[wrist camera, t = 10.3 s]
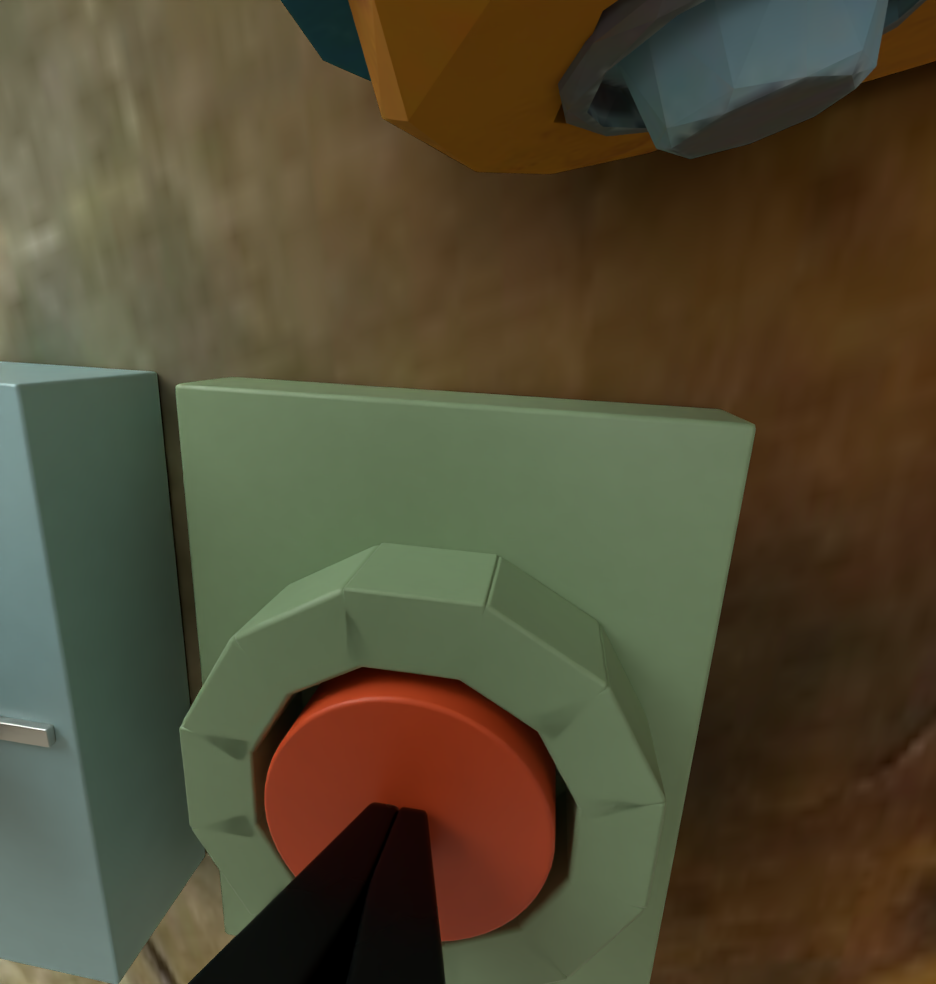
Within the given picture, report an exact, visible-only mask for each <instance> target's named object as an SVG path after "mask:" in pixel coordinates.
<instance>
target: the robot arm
mask: <svg viewBox="0 0 936 984" xmlns="http://www.w3.org/2000/svg"><path fill="white" fill-rule="evenodd" d="M188 984H446V981H445V972H444V962H443V953H442V944H441V935H440V925H439V916H438V907H437V898H436V888H435V879H434V870H433V861H432V851H431V842H430V833H429V824H428V816H427V813H426V811H424V810H420V809H414V808H408V807H402V808H400V809H398V807H397V806H395V805H390V804H384V803H378V802H373V803H371V804H369V805H368V806H367V807H366V808H365V809H364V810H363V811H362V812H361V813H360V814H359V815H358V816H357V817H356V818H355V819H354V820H353V821H352V822H351V823H350V824H349V825H348V826H347V827H346V828H345V829H344V830H343V831H342V832H341V833H340V834H339V835H338V836H337V837H336V838H335V839H334V840H333V841H332V842H331V843H330V844H329V845H328V846H327V847H326V848H325V849H324V850H323V851H321V852H320V853H319V854H318V855H317V856H316V857H315V858H314V859H313V860H312V861H311V862H310V863H309V864H308V865H307V866H306V867H305V868H304V869H303V870H302V871H301V872H300V873H299V874H298V875H297V876H296V877H295V878H294V879H293V880H292V881H291V882H290V883H289V884H288V885H287V886H286V887H285V888H284V889H283V890H282V891H281V892H280V893H279V894H278V895H277V896H276V897H275V898H274V899H273V900H272V901H271V902H270V903H269V904H268V905H267V906H266V907H265V908H264V909H263V910H262V911H261V912H260V913H259V914H258V915H257V916H256V917H255V918H254V919H253V920H252V921H251V922H250V923H249V924H248V925H247V926H246V927H245V928H244V929H243V930H242V931H241V932H240V933H239V934H238V935H236V936H235V937H234V938H233V939H232V940H231V941H230V942H229V943H228V944H227V945H226V946H225V947H224V948H223V949H222V950H221V951H220V952H219V953H218V954H217V955H216V956H215V957H214V958H213V959H212V960H211V961H210V962H209V963H208V964H207V965H206V966H205V967H204V968H203V969H202V970H201V971H200V972H199V973H198V974H197V975H196V976H195V977H194V978H193V979H192V980H191V981H190V982H189V983H188Z"/></svg>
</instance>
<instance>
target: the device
mask: <svg viewBox="0 0 936 984" xmlns="http://www.w3.org/2000/svg"><path fill="white" fill-rule="evenodd" d="M281 1H282V3H283V4H284V6H285V7H286V8H287V10H288V11H289V13H290V14H291V15H292V17H293V18H294V20H295V21H296V23H297V24H298V25H299V27H300V28H301V30H302V31H303V33H304V34H305V35H306V37H307V38H308V40H309V41H310V42H311V44H312V45H313V47H314V48H315V50H316V51H317V52H318V54H319V55H320V57H321V58H322V59H323V61H326V62H328V63H330V64H333V65H335V66H337V67H339V68H342V69H344V70H346V71H349V72H351V73H353V74H355V75H358V76H360V77H362V78H365V79H367V80H369V81H372V85H373V88H374V92H375V95H376V99H377V102H378V106H379V109H380V113H381V116H382V118H383V119H384V120H386V121H388V122H390V123H391V124H393V125H395V126H397V127H398V128H400V129H402V130H404V131H405V132H407V133H409V134H411V135H412V136H414V137H416V138H418V139H419V140H421V141H423V142H425V143H426V144H428V145H430V146H432V147H433V148H435V149H437V150H439V151H440V152H442V153H444V154H446V155H447V156H449V157H451V158H453V159H454V160H456V161H458V162H460V163H461V164H463V165H465V166H467V167H468V168H470V169H472V170H474V171H475V172H490V173H527V174H554V173H559V172H563V171H568V170H573V169H577V168H582V167H587V166H591V165H596V164H600V163H605V162H610V161H614V160H619V159H623V158H628V157H633V156H637V155H642V154H646V153H651V152H653V151H656V150H663V151H666V152H669V153H672V154H675V155H679V156H682V157H685V158H688V159H693V158H697V157H701V156H705V155H708V154H712V153H716V152H720V151H724V150H728V149H732V148H736V147H740V146H743V145H747V144H750V143H753V142H755V141H758V140H760V139H762V138H765V137H767V136H769V135H772V134H774V133H777V132H779V131H781V130H784V129H786V128H789V127H791V126H793V125H796V124H798V123H800V122H803V121H805V120H808V119H810V118H812V117H815V116H816V115H818V114H819V113H821V112H822V111H824V110H825V109H826V108H828V107H829V106H831V105H832V104H834V103H835V102H837V101H838V100H840V99H841V98H843V97H844V96H846V95H847V94H849V93H850V92H852V91H853V90H855V89H856V88H857V87H858V86H859V85H860V84H861V83H863V82H867V81H870V80H873V79H877V78H880V77H883V76H887V75H890V74H894V73H897V72H900V71H904V70H907V69H910V68H914V67H917V66H921V65H924V64H927V63H931V62H934V61H936V0H281Z"/></svg>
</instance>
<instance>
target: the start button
mask: <svg viewBox="0 0 936 984" xmlns="http://www.w3.org/2000/svg"><path fill="white" fill-rule="evenodd" d="M373 802H378V803H384V804H390V805H395V806H397V807H398V809H400V808H402V807H408V808H414V809H420V810H424V811H426V813H427V816H428V824H429V833H430V842H431V851H432V861H433V870H434V879H435V888H436V898H437V907H438V916H439V925H440V935H441V941H455V940H461V939H467V938H472V937H475V936H479V935H482V934H485V933H488V932H490V931H493V930H495V929H497V928H499V927H501V926H503V925H505V924H506V923H508V922H510V921H511V920H513V919H514V918H516V917H517V916H518V915H519V914H520V913H522V912H523V911H524V910H525V909H526V908H527V907H528V906H529V905H530V904H531V903H532V901H533V900H534V899H535V898H536V897H537V895H538V894H539V892H540V890H541V889H542V887H543V885H544V884H545V882H546V880H547V877H548V875H549V872H550V869H551V867H552V863H553V858H554V853H555V829H556V765H555V763H554V761H553V759H552V757H551V755H550V753H549V752H548V750H547V748H546V746H545V744H544V742H543V740H542V738H541V737H540V735H539V733H538V732H537V731H536V730H534V729H533V728H531V727H530V726H528V725H527V724H525V723H524V722H522V721H521V720H519V719H518V718H516V717H515V716H513V715H512V714H510V713H509V712H507V711H506V710H504V709H503V708H501V707H500V706H498V705H497V704H495V703H494V702H492V701H491V700H489V699H488V698H486V697H485V696H483V695H482V694H480V693H478V692H477V691H475V690H474V689H472V688H471V687H469V686H468V685H466V684H465V683H463V682H462V681H460V680H457V679H449V678H442V677H434V676H427V675H419V674H412V673H404V672H397V671H390V670H382V669H375V668H367V667H361V668H358V669H356V670H353V671H351V672H348V673H345V674H343V675H340V676H338V677H335V678H333V679H330V680H328V681H325V682H322V683H321V684H320V685H319V687H318V688H317V690H316V691H315V693H314V694H313V696H312V697H311V699H310V700H309V702H308V703H307V704H306V706H305V707H304V709H303V710H302V712H301V713H300V715H299V716H298V718H297V719H296V721H295V722H294V724H293V725H292V727H291V728H290V730H289V731H288V732H287V734H286V735H285V737H284V738H283V740H282V741H281V743H280V744H279V746H278V748H277V750H276V752H275V753H274V755H273V757H272V760H271V763H270V766H269V768H268V772H267V777H266V783H265V796H264V805H265V812H266V820H267V823H268V827H269V830H270V834H271V836H272V839H273V841H274V843H275V846H276V848H277V850H278V852H279V853H280V855H281V857H282V859H283V860H284V862H285V864H286V865H287V866H288V868H289V869H290V870H291V872H292V873H293V874H294V876H295V877H296V876H297V875H298V874H299V873H300V872H301V871H302V870H303V869H304V868H305V867H306V866H307V865H308V864H309V863H310V862H311V861H312V860H313V859H314V858H315V857H316V856H317V855H318V854H319V853H320V852H321V851H323V850H324V849H325V848H326V847H327V846H328V845H329V844H330V843H331V842H332V841H333V840H334V839H335V838H336V837H337V836H338V835H339V834H340V833H341V832H342V831H343V830H344V829H345V828H346V827H347V826H348V825H349V824H350V823H351V822H352V821H353V820H354V819H355V818H356V817H357V816H358V815H359V814H360V813H361V812H362V811H363V810H364V809H365V808H366V807H367V806H368V805H369V804H371V803H373Z"/></svg>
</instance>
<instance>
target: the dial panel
mask: <svg viewBox="0 0 936 984" xmlns="http://www.w3.org/2000/svg"><path fill="white" fill-rule="evenodd" d="M189 709H190V698H189V688H188V678H187V668H186V658H185V648H184V638H183V628H182V618H181V608H180V598H179V588H178V578H177V568H176V558H175V548H174V538H173V528H172V518H171V508H170V498H169V488H168V478H167V468H166V458H165V448H164V438H163V428H162V418H161V408H160V398H159V388H158V378H157V373H156V372H153V371H139V370H123V369H108V368H93V367H78V366H63V365H48V364H33V363H18V362H3V361H0V959H5V960H9V961H14V962H18V963H23V964H27V965H31V966H36V967H40V968H45V969H49V970H54V971H58V972H63V973H67V974H72V975H76V976H80V977H85V978H89V979H94V980H98V981H103V982H107V983H112V984H118V983H119V982H120V981H121V979H122V978H123V976H124V975H125V974H126V972H127V971H128V969H129V968H130V966H131V965H132V963H133V962H134V960H135V959H136V957H137V956H138V954H139V953H140V951H141V950H142V948H143V947H144V945H145V944H146V942H147V941H148V940H149V938H150V937H151V935H152V934H153V932H154V931H155V929H156V928H157V926H158V925H159V923H160V922H161V920H162V919H163V917H164V916H165V914H166V913H167V911H168V910H169V908H170V907H171V906H172V904H173V903H174V901H175V900H176V898H177V897H178V895H179V894H180V892H181V891H182V889H183V888H184V886H185V885H186V883H187V882H188V880H189V879H190V877H191V876H192V874H193V873H194V872H195V870H196V869H197V867H198V866H199V864H200V863H201V861H202V860H203V858H204V857H205V848H204V847H203V845H202V844H201V842H200V841H199V839H198V838H197V837H196V835H195V834H194V832H193V831H192V827H190V824H189V814H188V805H187V796H186V787H185V777H184V768H183V759H182V749H181V740H180V731H179V729H180V726H181V725H182V723H183V720H184V718H185V716H186V714H187V713H188V711H189Z"/></svg>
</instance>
